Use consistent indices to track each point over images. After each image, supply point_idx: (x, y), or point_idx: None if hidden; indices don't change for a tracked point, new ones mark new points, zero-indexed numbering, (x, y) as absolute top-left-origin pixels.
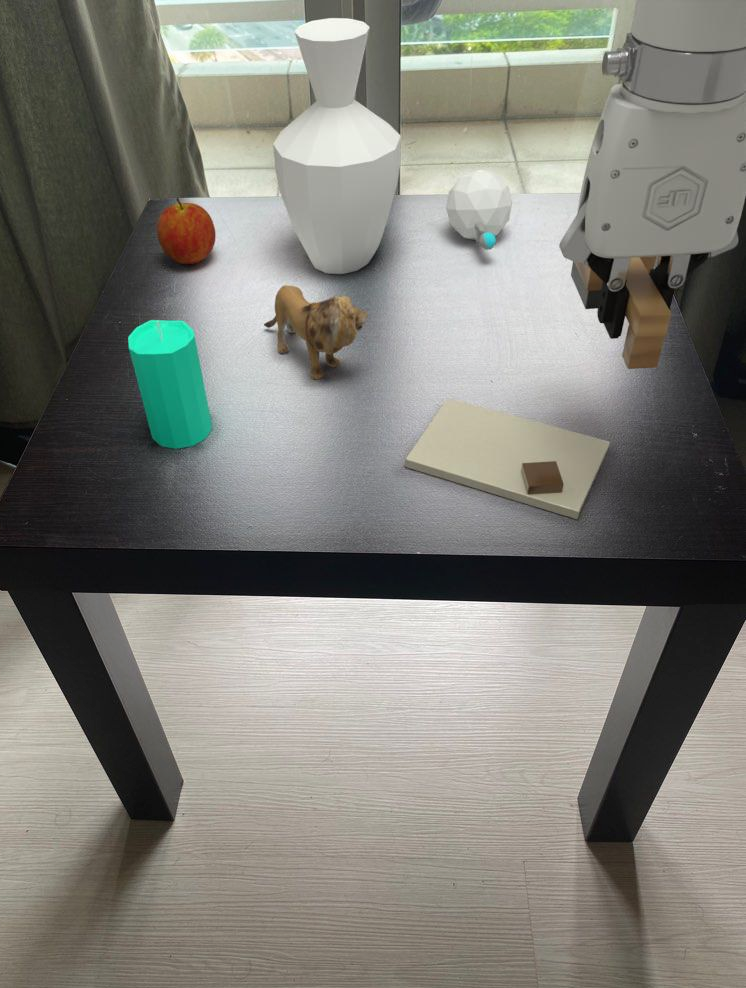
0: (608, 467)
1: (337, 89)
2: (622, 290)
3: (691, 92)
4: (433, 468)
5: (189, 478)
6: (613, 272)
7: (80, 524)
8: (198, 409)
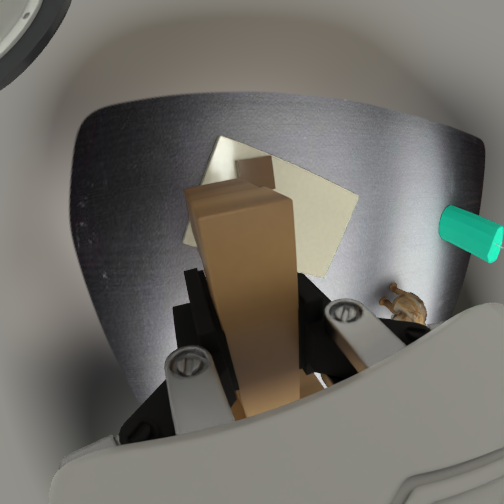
0: (183, 214)
1: None
2: (316, 311)
3: None
4: (340, 186)
5: (446, 180)
6: (377, 326)
7: (471, 148)
8: (459, 221)
